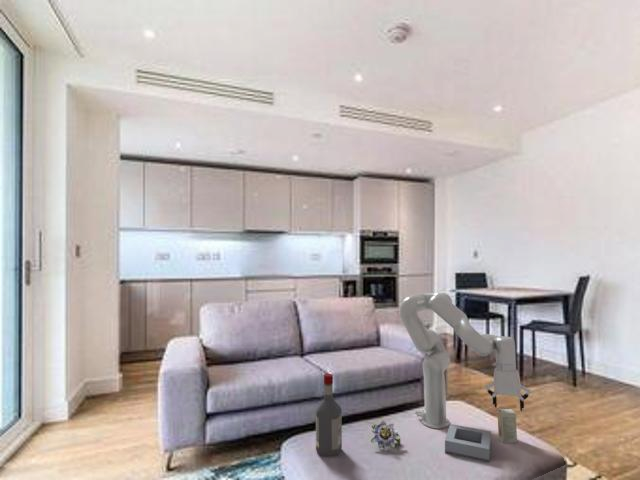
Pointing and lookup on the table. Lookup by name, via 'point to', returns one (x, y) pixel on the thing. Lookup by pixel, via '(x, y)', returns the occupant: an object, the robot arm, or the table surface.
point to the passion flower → (385, 435)
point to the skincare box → (507, 425)
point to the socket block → (468, 442)
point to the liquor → (328, 422)
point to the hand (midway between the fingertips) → (508, 407)
